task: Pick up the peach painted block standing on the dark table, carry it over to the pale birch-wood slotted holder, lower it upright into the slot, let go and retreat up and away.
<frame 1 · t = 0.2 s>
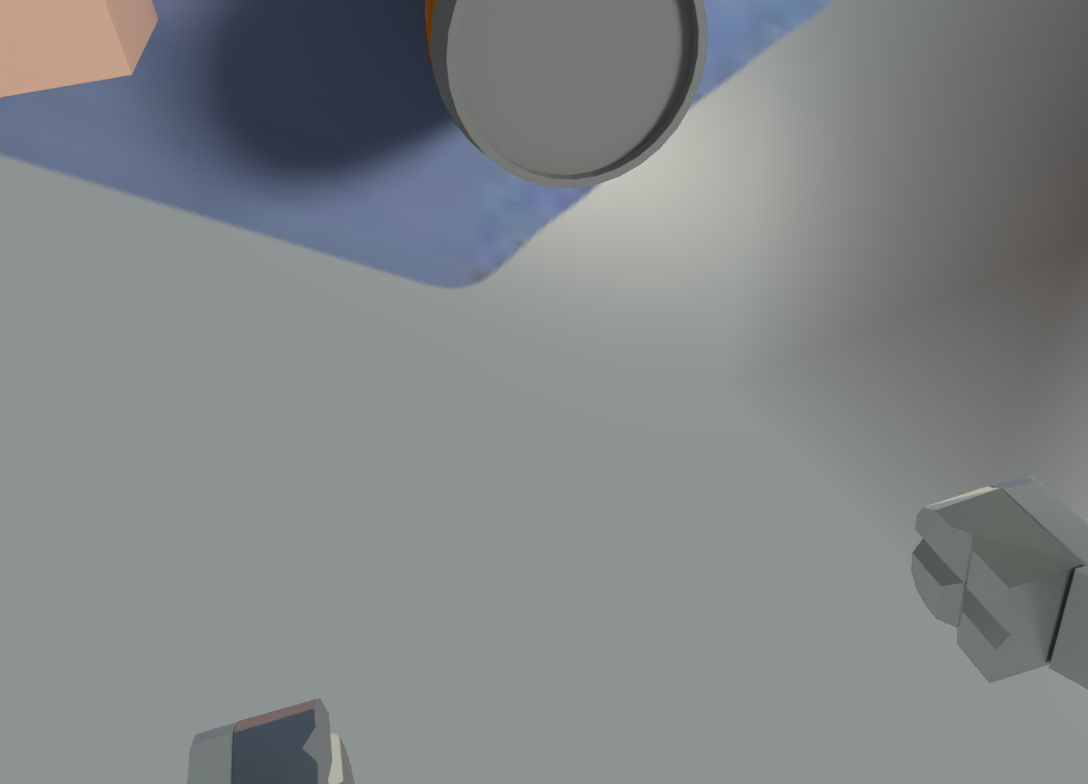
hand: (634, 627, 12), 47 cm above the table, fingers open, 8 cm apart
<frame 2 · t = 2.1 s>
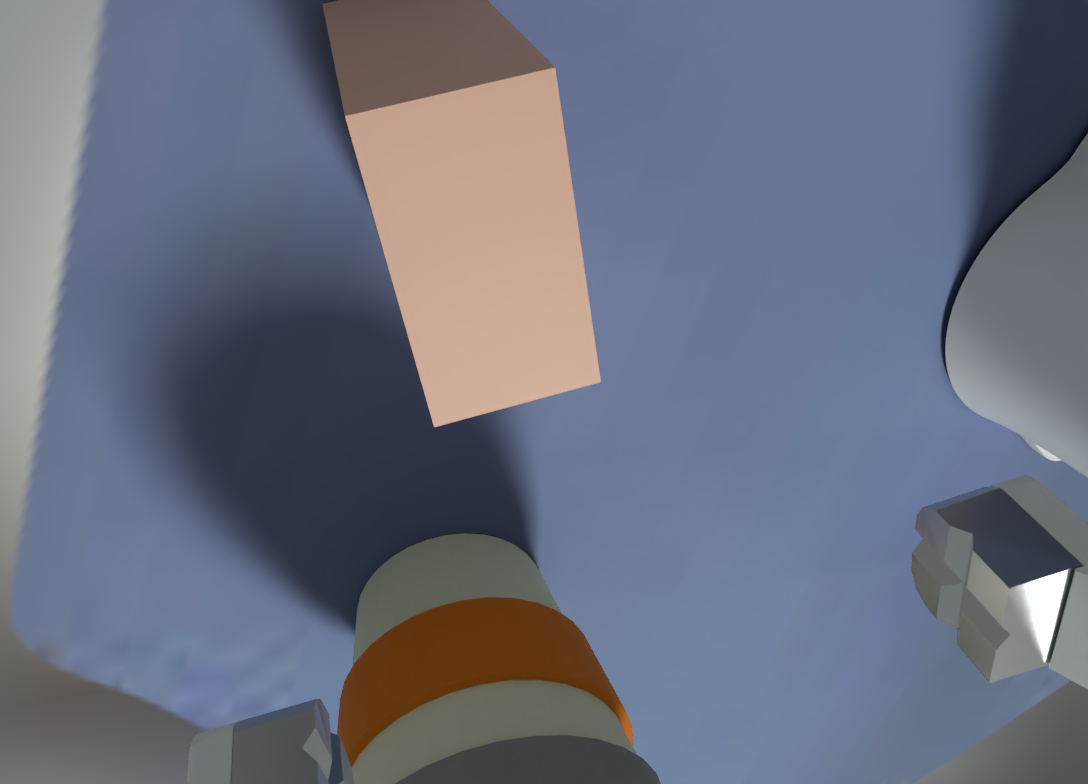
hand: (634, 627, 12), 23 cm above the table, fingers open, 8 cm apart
peach block: (421, 114, 30), on the table
reusable coffee cup: (451, 601, 43), on the table
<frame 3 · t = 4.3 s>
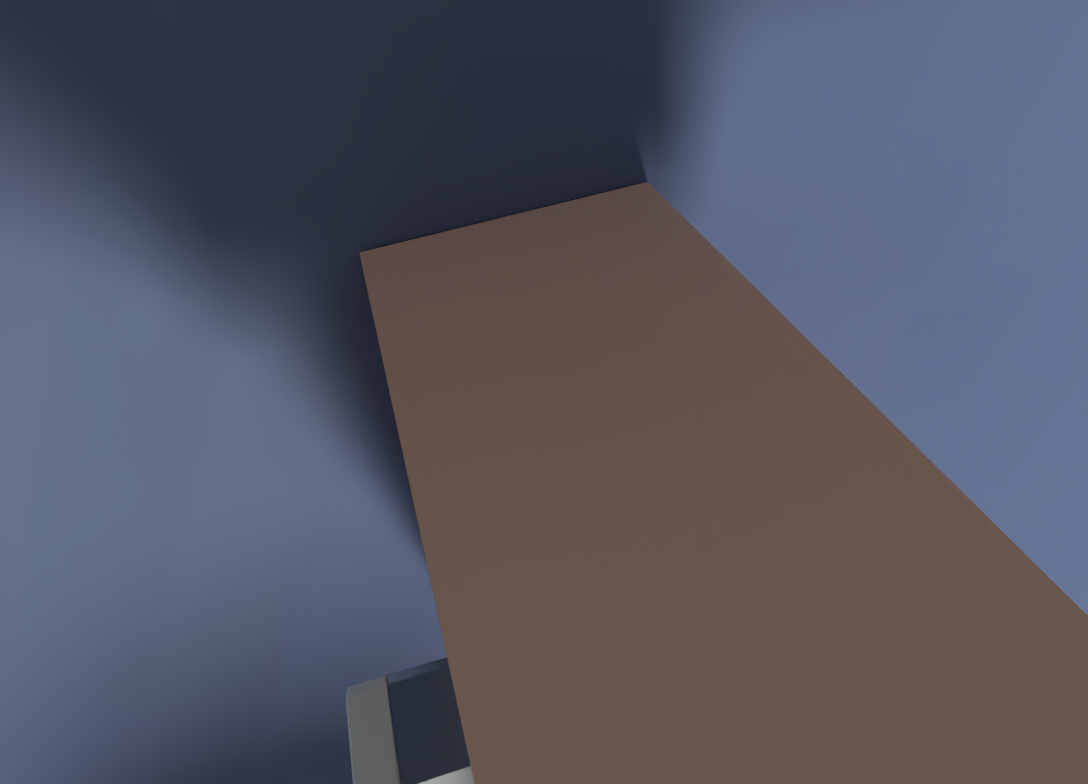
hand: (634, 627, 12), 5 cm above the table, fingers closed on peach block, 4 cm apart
peach block: (545, 429, 16), on the table, touching gripper
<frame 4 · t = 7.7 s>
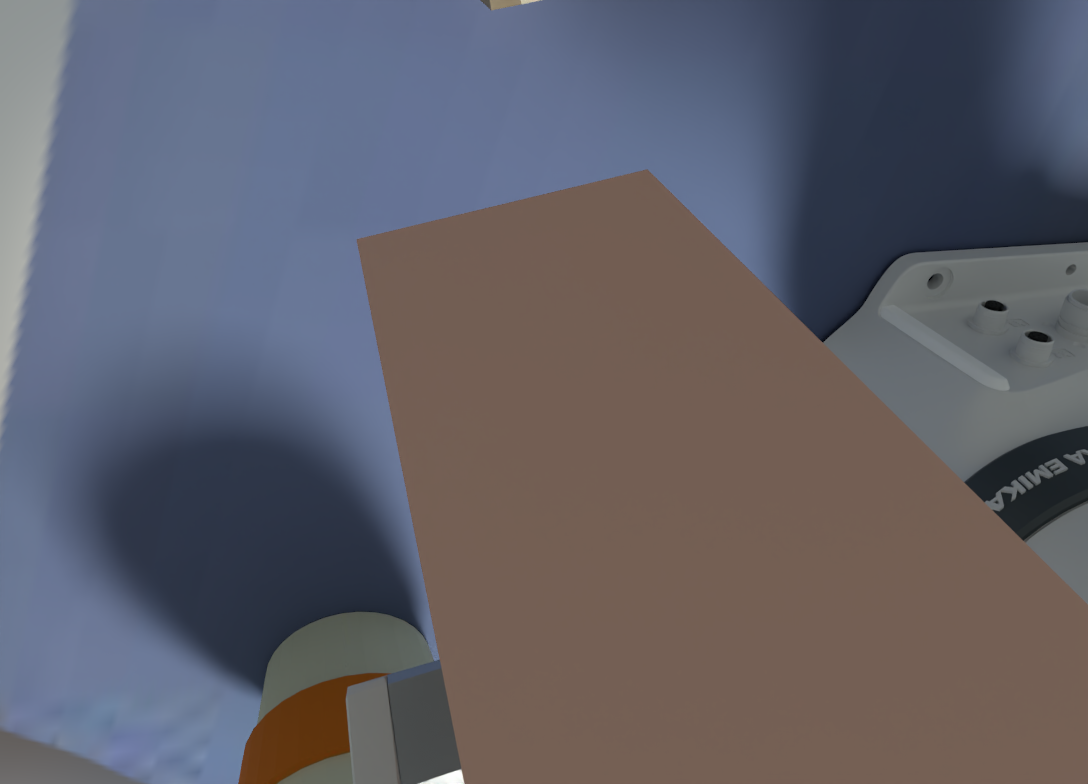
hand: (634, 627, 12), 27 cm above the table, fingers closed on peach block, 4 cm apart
peach block: (544, 419, 15), point 23 cm above the table, touching gripper
reusable coffee cup: (349, 668, 50), on the table
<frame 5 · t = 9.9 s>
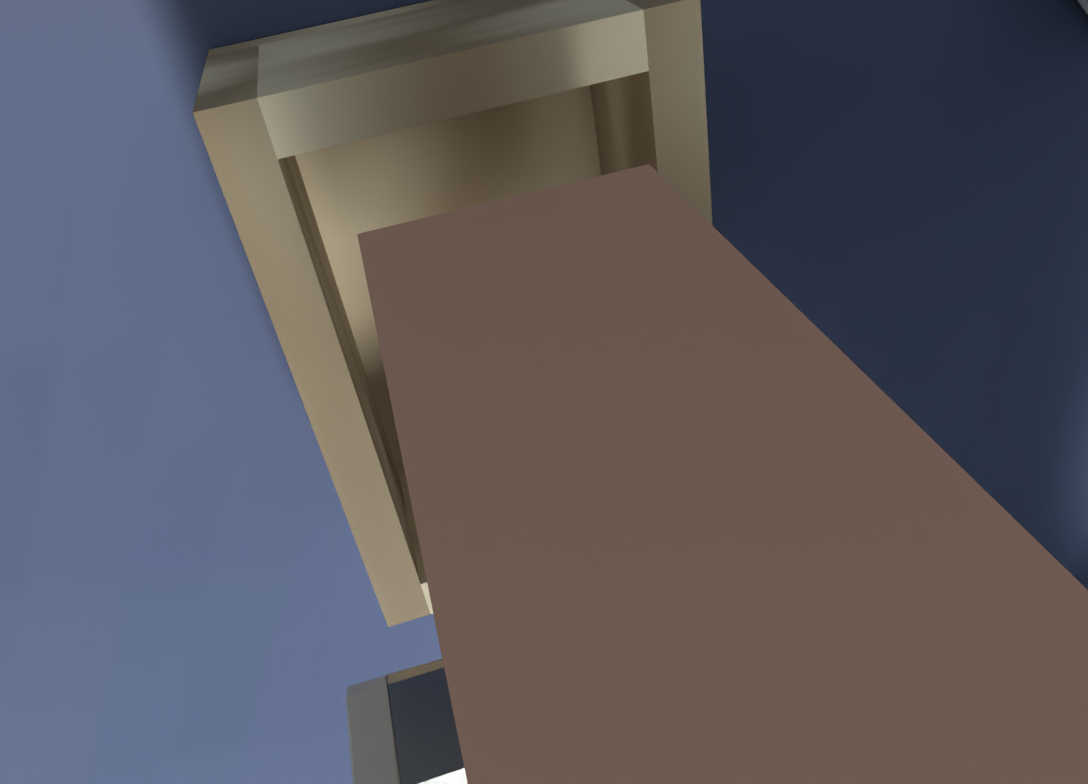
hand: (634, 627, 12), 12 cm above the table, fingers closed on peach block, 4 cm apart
peach block: (545, 415, 15), point 7 cm above the table, touching gripper
slot holder: (475, 267, 22), on the table
when the fingers open (7 cm above the table, at t = 11.4 s): peach block drops 1 cm, resting on slot holder.
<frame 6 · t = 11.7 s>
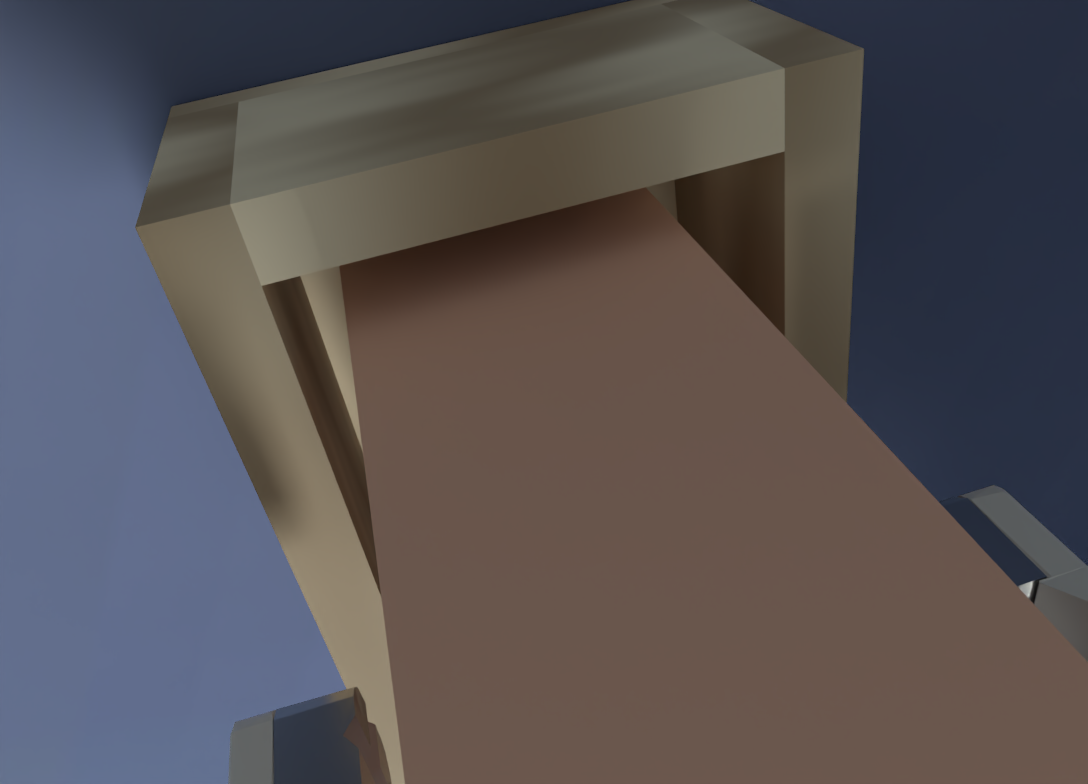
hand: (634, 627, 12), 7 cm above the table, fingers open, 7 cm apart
peach block: (518, 378, 17), point 1 cm above the table, touching slot holder
slot holder: (516, 365, 17), on the table
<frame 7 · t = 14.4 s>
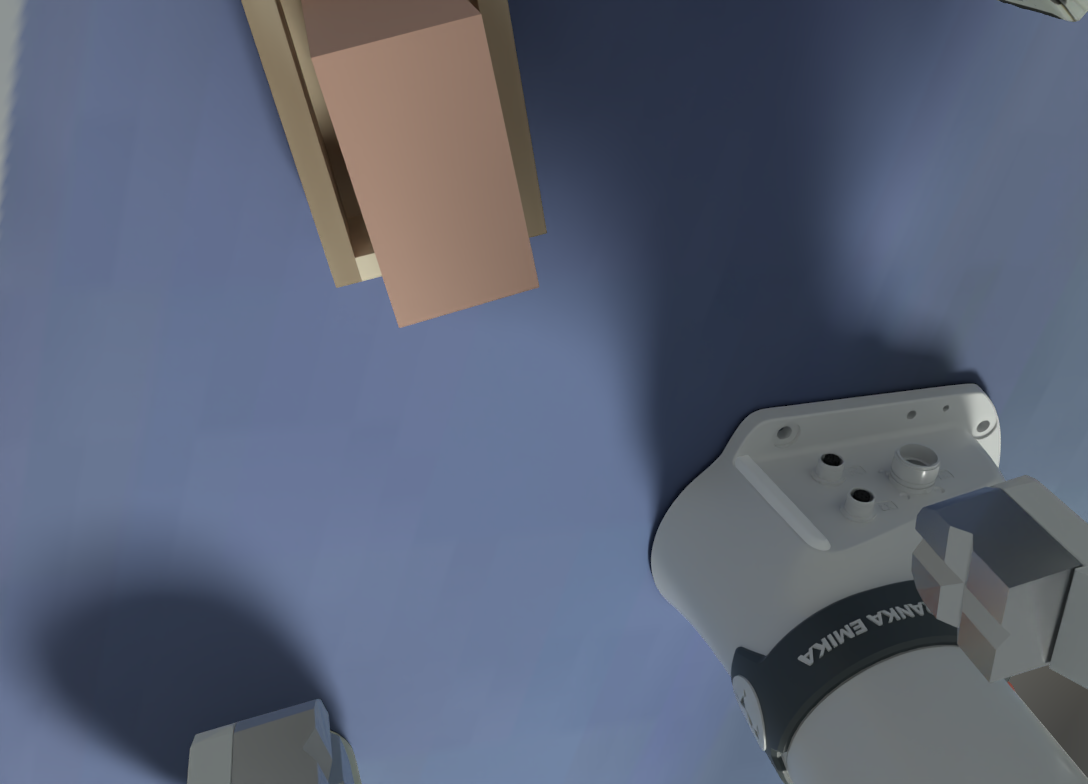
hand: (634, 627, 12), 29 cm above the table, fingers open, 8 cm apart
peach block: (388, 75, 35), point 1 cm above the table, touching slot holder
slot holder: (390, 74, 35), on the table
reusable coffee cup: (281, 768, 56), on the table
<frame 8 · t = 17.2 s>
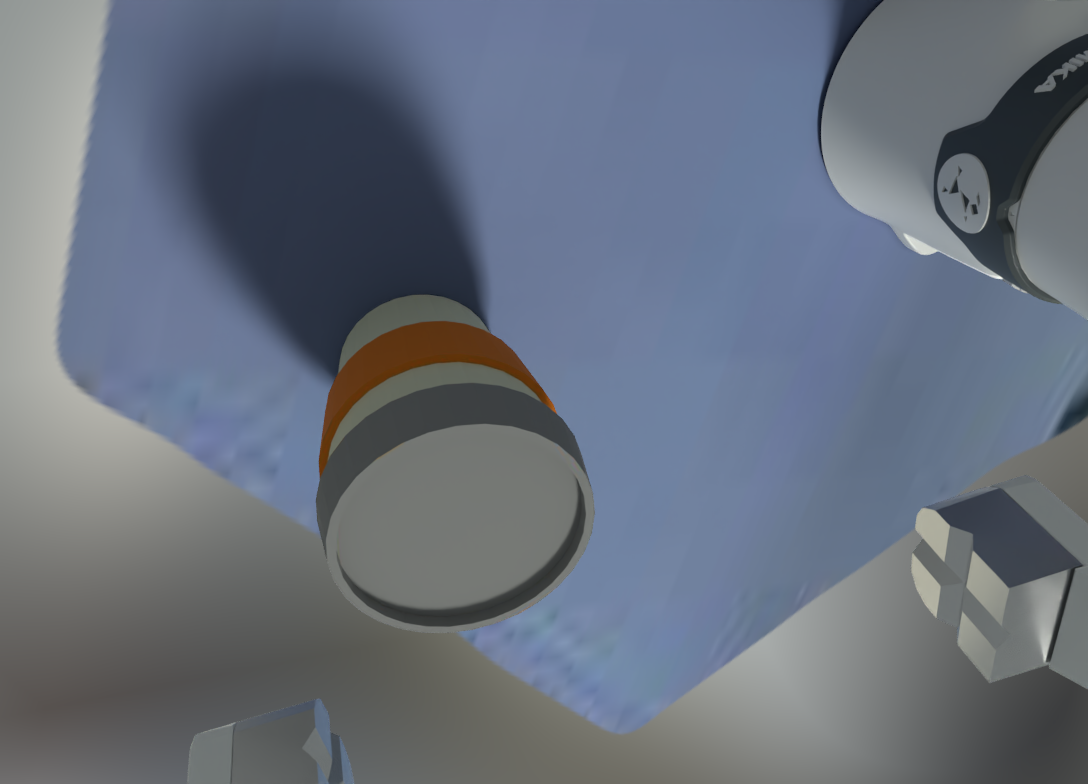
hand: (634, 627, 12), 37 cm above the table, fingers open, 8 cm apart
reusable coffee cup: (418, 362, 52), on the table
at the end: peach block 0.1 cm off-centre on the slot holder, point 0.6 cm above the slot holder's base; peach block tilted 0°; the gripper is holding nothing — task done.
